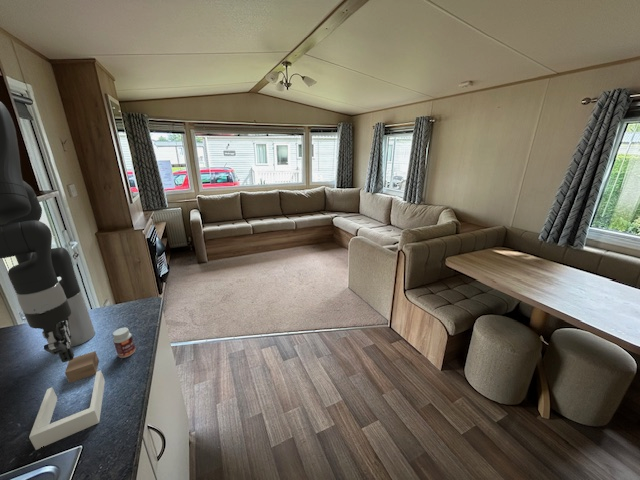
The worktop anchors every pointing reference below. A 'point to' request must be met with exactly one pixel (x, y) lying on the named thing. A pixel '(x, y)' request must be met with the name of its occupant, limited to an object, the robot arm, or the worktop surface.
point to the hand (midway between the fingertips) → (68, 359)
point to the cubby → (67, 426)
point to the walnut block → (82, 367)
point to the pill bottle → (123, 342)
